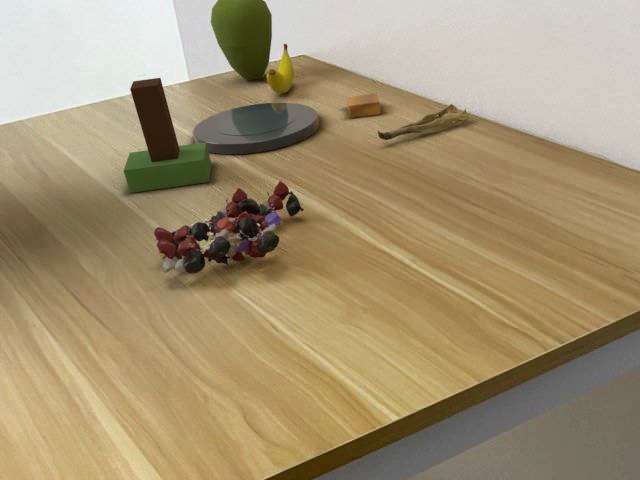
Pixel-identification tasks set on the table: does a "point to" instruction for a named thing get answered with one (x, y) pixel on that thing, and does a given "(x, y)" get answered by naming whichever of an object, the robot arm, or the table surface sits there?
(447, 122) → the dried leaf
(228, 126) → the plate
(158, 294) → the table surface
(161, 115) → the sponge brush
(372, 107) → the orange flat block
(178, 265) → the dark lumpy cluster
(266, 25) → the green mango
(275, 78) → the fruit
